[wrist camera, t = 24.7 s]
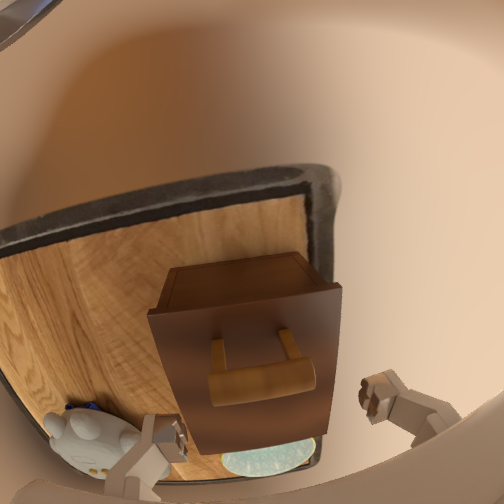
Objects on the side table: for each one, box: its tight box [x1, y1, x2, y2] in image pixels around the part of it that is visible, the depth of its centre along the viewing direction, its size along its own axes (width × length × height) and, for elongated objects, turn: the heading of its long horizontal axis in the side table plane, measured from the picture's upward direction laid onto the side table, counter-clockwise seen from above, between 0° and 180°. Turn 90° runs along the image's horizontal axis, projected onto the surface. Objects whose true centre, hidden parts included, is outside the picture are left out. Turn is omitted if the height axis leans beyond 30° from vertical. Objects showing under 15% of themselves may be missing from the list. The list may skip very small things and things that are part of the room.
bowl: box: [221, 438, 316, 477], centre depth 29 cm, size 11×12×6 cm
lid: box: [147, 282, 342, 455], centre depth 16 cm, size 15×12×6 cm
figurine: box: [43, 402, 171, 480], centre depth 27 cm, size 17×8×20 cm
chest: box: [157, 252, 328, 308], centre depth 23 cm, size 15×12×9 cm
